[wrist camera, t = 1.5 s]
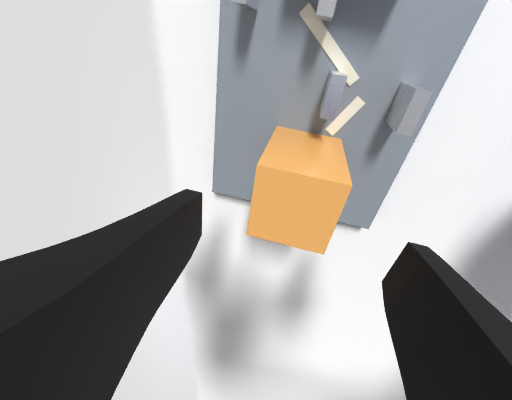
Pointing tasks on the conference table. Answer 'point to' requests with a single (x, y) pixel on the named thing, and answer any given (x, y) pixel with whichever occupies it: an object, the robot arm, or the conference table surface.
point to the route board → (315, 78)
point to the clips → (404, 104)
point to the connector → (299, 189)
